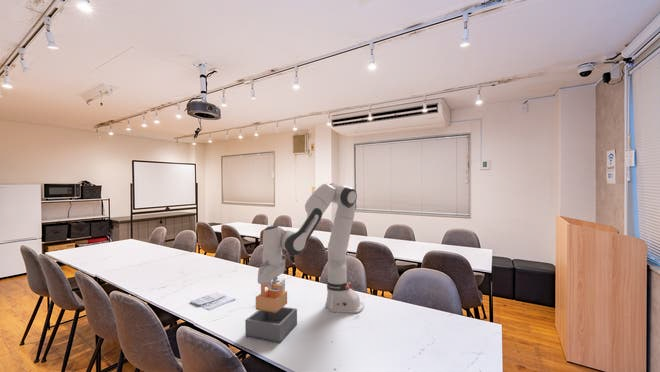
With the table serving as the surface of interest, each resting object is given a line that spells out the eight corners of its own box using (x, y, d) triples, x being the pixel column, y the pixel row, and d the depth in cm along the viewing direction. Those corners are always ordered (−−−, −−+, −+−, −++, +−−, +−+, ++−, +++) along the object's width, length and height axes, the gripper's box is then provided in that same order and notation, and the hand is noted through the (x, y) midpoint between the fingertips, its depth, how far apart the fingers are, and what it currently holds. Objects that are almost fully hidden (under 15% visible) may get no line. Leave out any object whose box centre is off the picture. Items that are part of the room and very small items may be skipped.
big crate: (297, 324, 141) (296, 308, 141) (279, 343, 124) (279, 325, 124) (266, 319, 147) (266, 304, 147) (245, 337, 130) (245, 319, 130)
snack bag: (217, 294, 184) (217, 290, 185) (236, 301, 173) (236, 297, 173) (189, 304, 169) (189, 300, 169) (207, 312, 157) (207, 308, 157)
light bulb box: (279, 301, 170) (278, 283, 170) (268, 300, 171) (268, 283, 172) (285, 294, 181) (285, 278, 181) (275, 294, 182) (275, 277, 182)
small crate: (287, 303, 139) (287, 281, 139) (276, 312, 128) (276, 289, 128) (267, 300, 142) (267, 279, 142) (255, 309, 132) (255, 286, 132)
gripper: (266, 265, 125) (266, 296, 124) (287, 254, 144) (287, 281, 144) (254, 264, 127) (254, 294, 126) (276, 253, 146) (276, 280, 146)
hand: (272, 287), depth 135 cm, fingers closed on small crate
